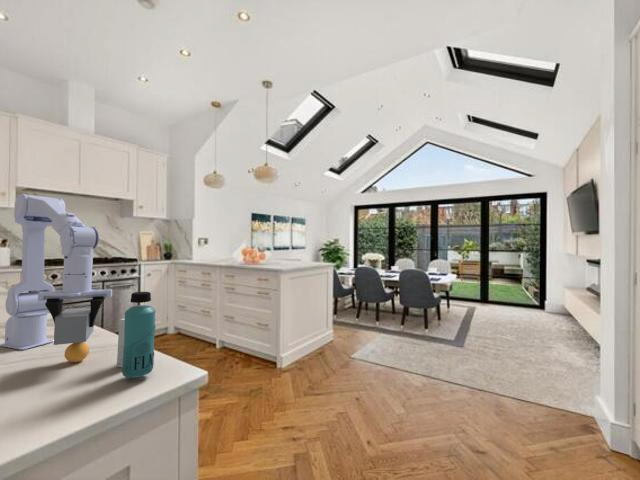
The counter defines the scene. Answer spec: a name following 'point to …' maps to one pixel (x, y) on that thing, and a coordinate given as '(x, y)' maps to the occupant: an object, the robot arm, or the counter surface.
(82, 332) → the tall gray prism
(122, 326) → the skincare box
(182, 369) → the counter surface
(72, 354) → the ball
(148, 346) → the beverage bottle
